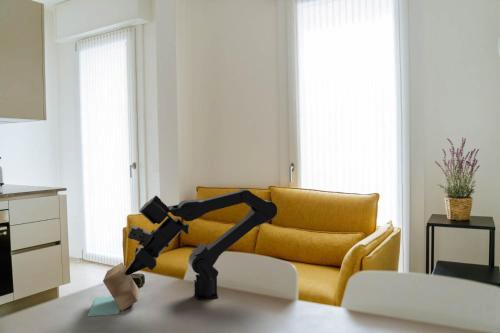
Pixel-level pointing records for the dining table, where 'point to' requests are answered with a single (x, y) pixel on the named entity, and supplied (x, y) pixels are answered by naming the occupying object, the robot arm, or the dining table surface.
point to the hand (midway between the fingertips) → (126, 274)
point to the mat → (104, 307)
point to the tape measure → (138, 279)
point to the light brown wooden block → (121, 286)
